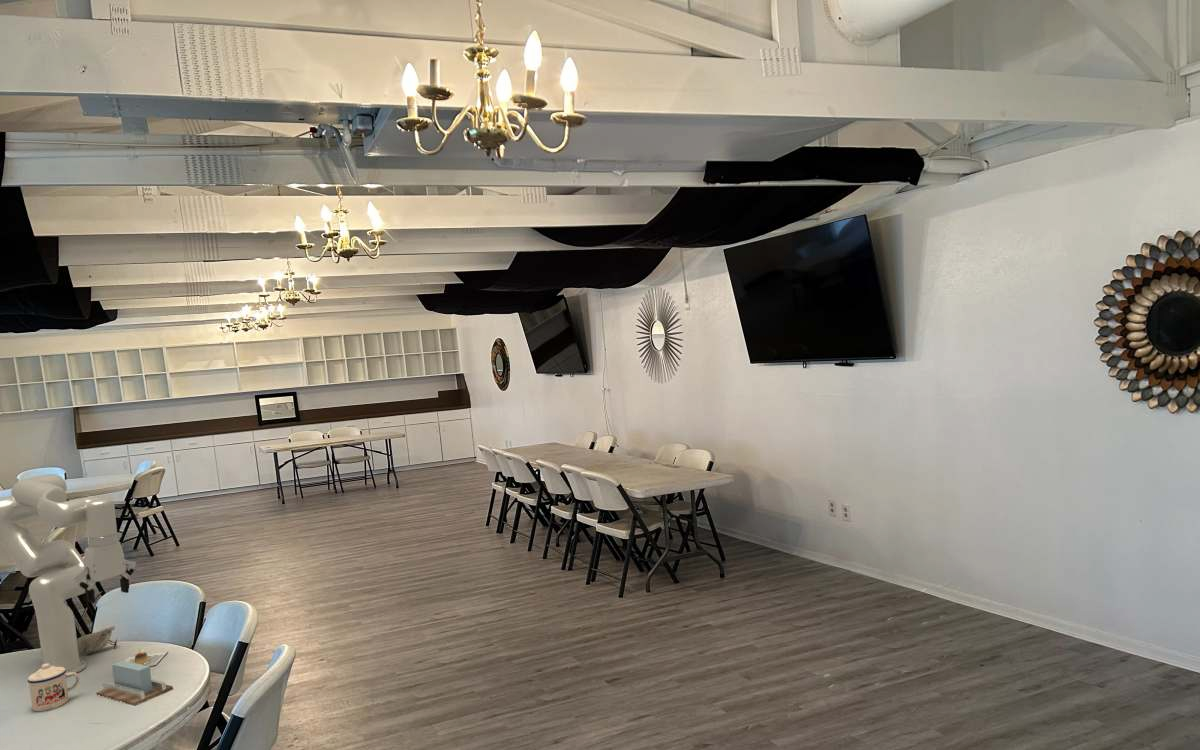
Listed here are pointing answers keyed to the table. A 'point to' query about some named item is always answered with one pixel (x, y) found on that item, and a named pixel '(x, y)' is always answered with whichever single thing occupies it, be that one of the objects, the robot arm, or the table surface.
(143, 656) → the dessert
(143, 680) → the door panel
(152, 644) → the table surface
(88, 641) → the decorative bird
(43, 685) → the teacup with lid
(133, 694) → the bottom track
